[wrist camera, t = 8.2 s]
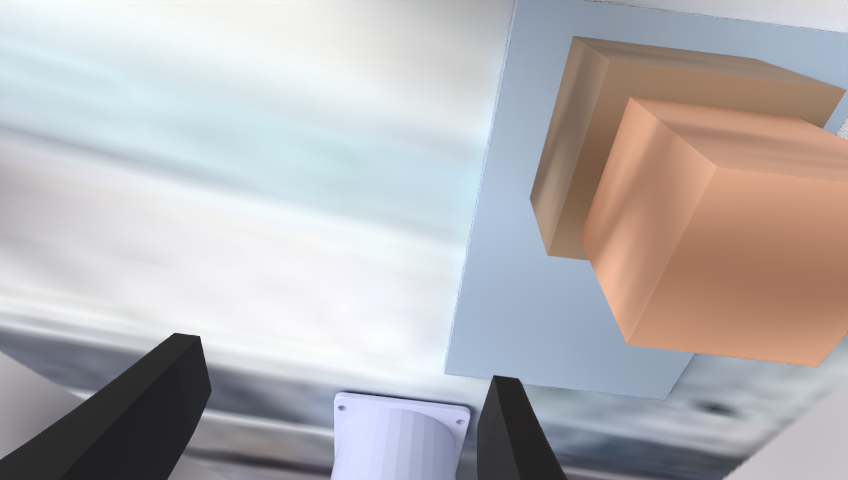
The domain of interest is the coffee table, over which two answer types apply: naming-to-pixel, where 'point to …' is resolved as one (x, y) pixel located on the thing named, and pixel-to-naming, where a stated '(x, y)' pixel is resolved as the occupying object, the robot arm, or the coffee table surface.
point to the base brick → (649, 79)
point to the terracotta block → (723, 232)
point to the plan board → (516, 223)
